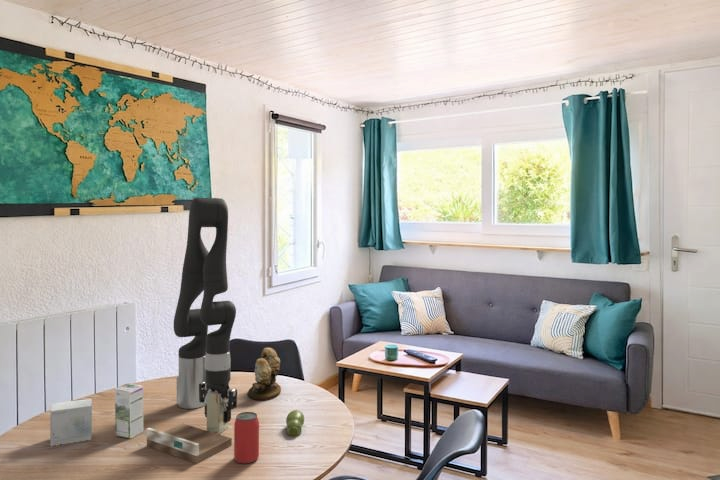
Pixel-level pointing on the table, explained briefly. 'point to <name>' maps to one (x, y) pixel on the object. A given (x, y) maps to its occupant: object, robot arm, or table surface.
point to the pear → (294, 423)
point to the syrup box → (129, 410)
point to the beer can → (246, 437)
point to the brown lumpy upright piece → (266, 376)
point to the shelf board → (187, 442)
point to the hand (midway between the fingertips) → (217, 419)
